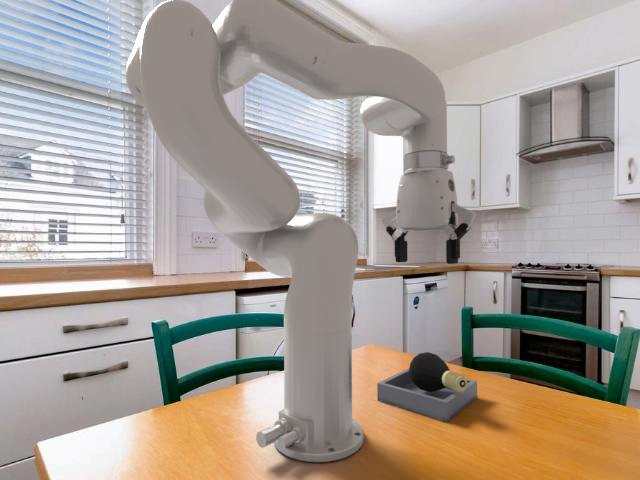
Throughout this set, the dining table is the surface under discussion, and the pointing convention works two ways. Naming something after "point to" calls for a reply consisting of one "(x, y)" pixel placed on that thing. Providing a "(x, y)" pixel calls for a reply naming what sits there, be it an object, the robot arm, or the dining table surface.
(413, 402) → the parts tray
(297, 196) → the robot arm
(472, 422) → the dining table surface
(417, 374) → the light bulb
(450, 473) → the dining table surface
